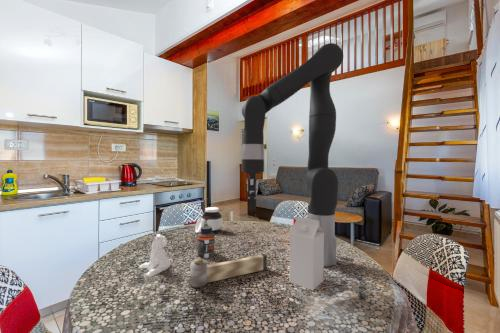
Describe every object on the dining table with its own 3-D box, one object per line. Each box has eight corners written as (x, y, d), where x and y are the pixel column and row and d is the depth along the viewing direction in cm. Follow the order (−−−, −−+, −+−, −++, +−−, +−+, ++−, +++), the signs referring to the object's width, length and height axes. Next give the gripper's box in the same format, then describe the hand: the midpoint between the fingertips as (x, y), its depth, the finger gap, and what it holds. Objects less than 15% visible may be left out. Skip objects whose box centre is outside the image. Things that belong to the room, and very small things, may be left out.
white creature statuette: (137, 270, 76) (137, 233, 76) (164, 263, 81) (164, 228, 81) (146, 282, 68) (146, 241, 68) (175, 273, 74) (175, 235, 74)
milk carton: (300, 277, 72) (301, 215, 72) (323, 284, 68) (324, 218, 68) (289, 286, 67) (289, 219, 67) (312, 295, 62) (313, 223, 62)
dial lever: (192, 289, 62) (192, 264, 62) (188, 281, 66) (188, 258, 66) (268, 271, 73) (269, 250, 73) (261, 265, 77) (262, 245, 76)
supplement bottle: (210, 262, 83) (211, 230, 82) (194, 260, 84) (195, 228, 84) (216, 255, 88) (216, 225, 88) (201, 254, 90) (201, 224, 90)
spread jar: (224, 230, 121) (224, 208, 121) (209, 236, 111) (209, 211, 111) (206, 227, 127) (206, 205, 127) (191, 232, 118) (191, 209, 118)
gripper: (264, 157, 72) (263, 213, 72) (264, 158, 86) (263, 204, 86) (239, 157, 72) (239, 212, 73) (243, 158, 87) (243, 204, 87)
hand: (252, 208), depth 79 cm, fingers open, 6 cm apart
